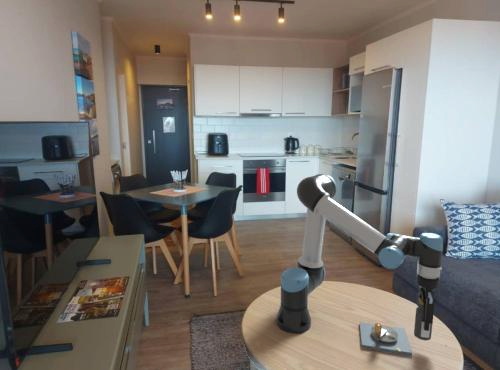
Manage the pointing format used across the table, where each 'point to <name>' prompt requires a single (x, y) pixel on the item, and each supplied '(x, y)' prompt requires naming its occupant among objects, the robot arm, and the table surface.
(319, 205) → the robot arm
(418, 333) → the bottle
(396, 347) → the board
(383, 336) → the dial
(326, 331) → the table surface
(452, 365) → the table surface
